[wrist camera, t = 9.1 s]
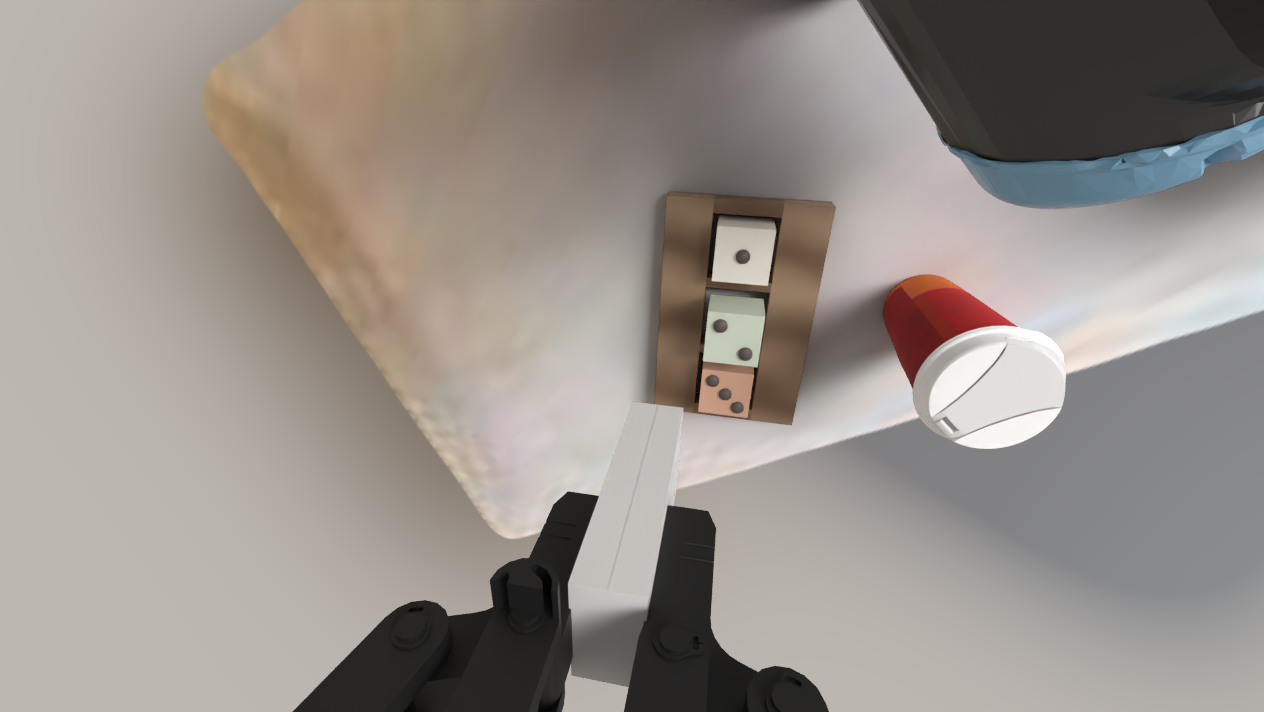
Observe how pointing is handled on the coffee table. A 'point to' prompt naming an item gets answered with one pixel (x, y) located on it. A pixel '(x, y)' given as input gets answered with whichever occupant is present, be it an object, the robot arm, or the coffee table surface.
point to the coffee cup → (972, 365)
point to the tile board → (787, 289)
